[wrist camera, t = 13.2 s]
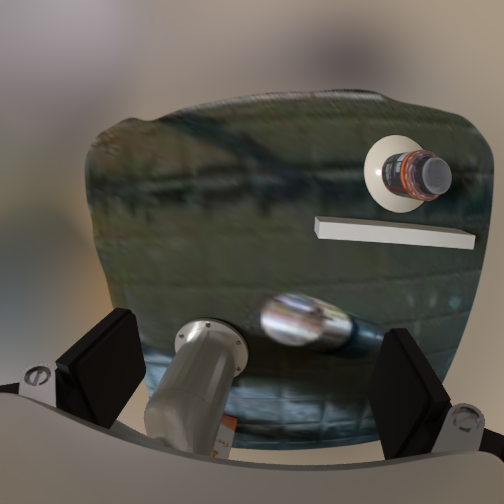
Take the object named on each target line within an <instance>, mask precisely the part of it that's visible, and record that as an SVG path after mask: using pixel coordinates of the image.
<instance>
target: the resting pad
mask: <svg viewBox="0 0 504 504" xmlns="http://www.w3.org/2000/svg"><path fill="white" fill-rule="evenodd" d="M417 150H423V149H422V148H421V147H420V146H419V145H418V144H417V143H416V142H415V141H413V140H411V139H409V138H407V137H404V136H398V135H393V136H388V137H385V138H382V139H381V140H379V141H377V142H376V143H375V144H374V145H373V146H372V147H371V149H370V150H369V152H368V154H367V156H366V159H365V164H364V178H365V183H366V186H367V188H368V191H369V192H370V194H371V196H372V197H373V199H374V200H375V201H376V202H377V203H378V204H379V205H381V206H382V207H384V208H386V209H388V210H390V211H393V212H401V213H403V212H409V211H412V210H414V209H416V208H417V207H419V206H420V205H421V204H422V203H423V202H424V201H421V200H416V199H411V198H406V197H401V196H397V195H395V194H393V193H391V192H390V191H389V190H388V189H387V188H386V187H385V185H384V183H383V180H382V174H381V173H382V167H383V164H384V162H385V161H386V159H387V158H389V157H390V156H392V155H395V154H399V153H405V152H411V151H417Z"/></svg>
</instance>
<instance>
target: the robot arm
mask: <svg viewBox="0 0 504 504" xmlns="http://www.w3.org/2000/svg"><path fill="white" fill-rule="evenodd" d="M209 323H210V324H209ZM175 351H176V355H175V357H174V359H173V360H172V362H171V364H170V365H169V367H168V369H167V370H166V372H165V374H164V375H163V377H162V379H161V380H160V382H159V384H158V385H157V387H156V389H155V390H154V392H153V394H152V396H151V397H150V399H149V401H148V403H147V405H146V408H145V412H144V423H145V429H146V433H147V436H146V435H144V434H141V433H139V432H138V431H136V430H134V429H132V428H130V427H128V426H127V425H125V424H123V423H121V422H120V421H118V420H116V419H117V417H118V416H119V414H120V413H121V411H122V410H123V408H124V407H125V405H126V404H127V402H128V401H129V399H130V398H131V396H132V395H133V393H134V392H135V390H136V388H137V387H138V386H139V384H140V383H141V381H142V380H143V378H144V376H145V374H146V366H145V362H144V357H143V352H142V348H141V343H140V337H139V332H138V327H137V321H136V316H135V315H134V314H132V311H131V310H129V309H123V308H115V309H114V310H113V311H112V312H111V313H109V314H108V315H107V316H106V317H105V318H104V319H102V320H101V321H100V322H99V323H98V324H97V325H96V326H94V327H93V328H92V329H91V330H90V331H89V332H88V333H86V334H85V335H84V336H83V337H82V338H81V339H80V340H78V341H77V342H76V343H75V344H74V345H73V346H72V347H71V348H70V349H68V350H67V351H66V352H65V353H64V354H63V355H62V356H61V357H60V358H59V359H57V360H56V361H55V362H56V365H57V367H58V368H57V369H56V370H54V368H53V367H52V366H50V365H48V364H44V363H43V364H35V365H32V366H30V367H28V368H27V369H26V370H24V372H23V373H22V375H21V378H20V382H19V383H13V384H7V385H1V386H0V504H504V435H501V434H499V433H496V432H493V431H491V430H488V429H486V428H484V426H485V419H484V416H483V414H482V413H481V411H480V410H479V409H478V408H476V407H475V406H473V405H470V404H466V403H461V404H457V405H454V406H452V405H451V403H450V400H451V399H450V397H449V395H448V394H447V392H446V390H445V389H444V387H443V385H442V383H441V382H440V380H439V379H438V377H437V375H436V374H435V372H434V370H433V369H432V367H431V366H430V364H429V362H428V361H427V359H426V358H425V356H424V354H423V353H422V351H421V350H420V348H419V347H418V345H417V344H416V342H415V341H414V339H413V338H412V336H411V335H410V333H409V332H408V330H407V329H406V328H392V329H390V331H389V332H387V333H386V334H385V336H384V339H383V343H382V346H381V350H380V353H379V356H378V360H377V363H376V366H375V369H374V372H373V375H372V378H371V381H370V384H369V387H368V397H369V401H370V404H371V408H372V411H373V415H374V418H375V422H376V426H377V429H378V433H379V437H380V441H381V445H382V449H383V453H384V457H385V460H383V461H374V462H363V463H352V464H337V465H280V464H265V463H253V462H242V461H235V460H228V459H221V458H215V457H212V455H213V450H214V445H215V441H216V437H217V434H218V430H219V427H220V423H221V420H222V416H223V413H224V409H225V406H226V402H227V398H228V395H229V391H230V388H231V384H232V380H233V378H234V377H236V376H237V375H239V374H240V373H241V372H242V371H243V370H244V368H245V366H246V364H247V361H248V347H247V344H246V342H245V340H244V338H243V337H242V336H241V334H240V333H239V332H238V331H237V330H236V329H234V328H233V327H232V326H230V325H229V324H227V323H224V322H222V321H219V320H216V319H210V318H200V319H195V320H192V321H190V322H188V323H186V324H185V325H184V326H183V327H182V328H181V329H180V330H179V332H178V334H177V336H176V339H175Z"/></svg>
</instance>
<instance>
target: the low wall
mask: <svg viewBox="0 0 504 504" xmlns="http://www.w3.org/2000/svg"><path fill="white" fill-rule="evenodd" d="M315 232H316V234H317V236H318V238H323V239H339V240H355V241H370V242H385V243H399V244H413V245H426V246H438V247H451V248H462V249H473V248H474V242H475V236H474V235H472V234H470V233H467V232H465V231H462V230H460V229H454V228H446V227H437V226H428V225H419V224H409V223H398V222H388V221H376V220H364V219H352V218H338V217H323V216H315Z"/></svg>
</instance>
